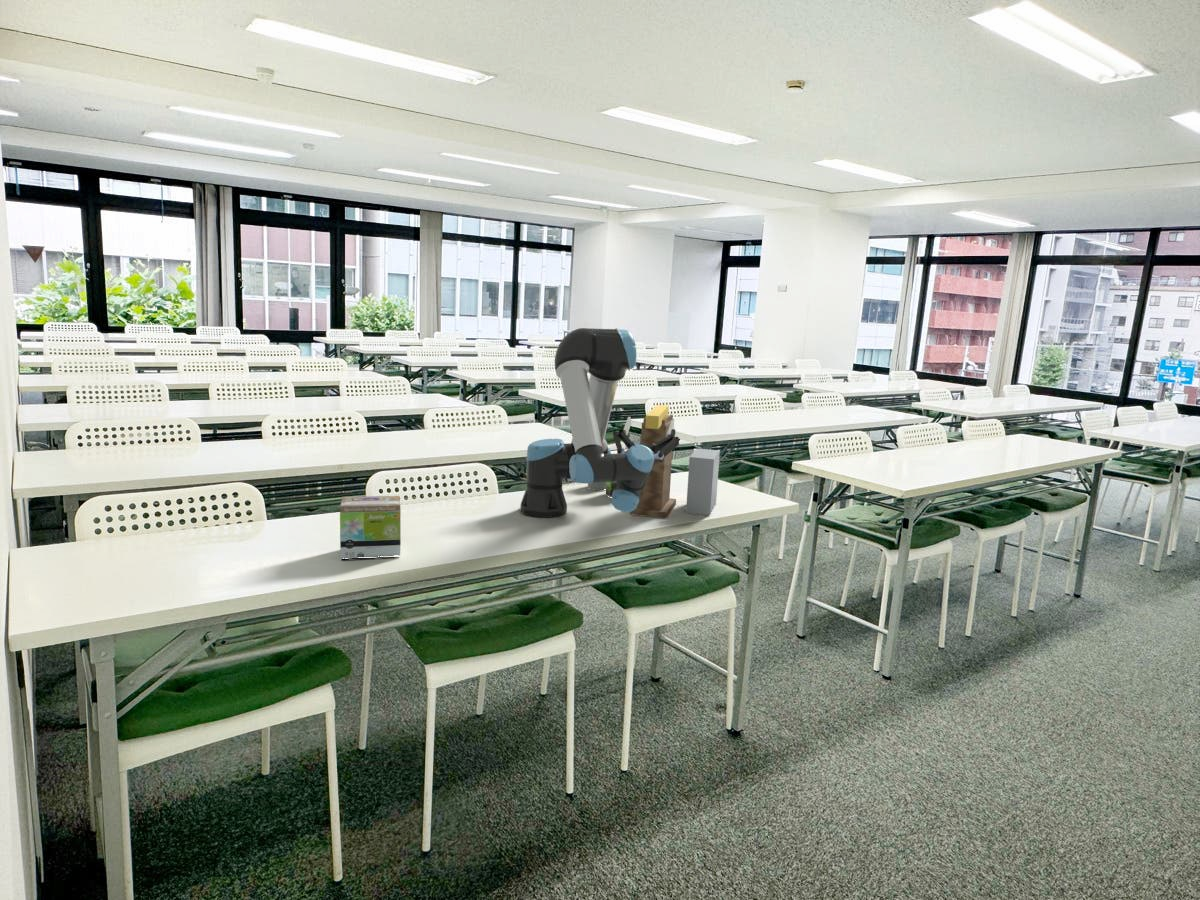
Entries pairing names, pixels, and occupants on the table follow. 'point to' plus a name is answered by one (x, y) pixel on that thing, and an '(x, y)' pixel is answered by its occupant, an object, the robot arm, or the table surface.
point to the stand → (656, 477)
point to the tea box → (370, 526)
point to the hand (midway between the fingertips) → (651, 421)
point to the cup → (597, 485)
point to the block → (656, 416)
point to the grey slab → (702, 481)
